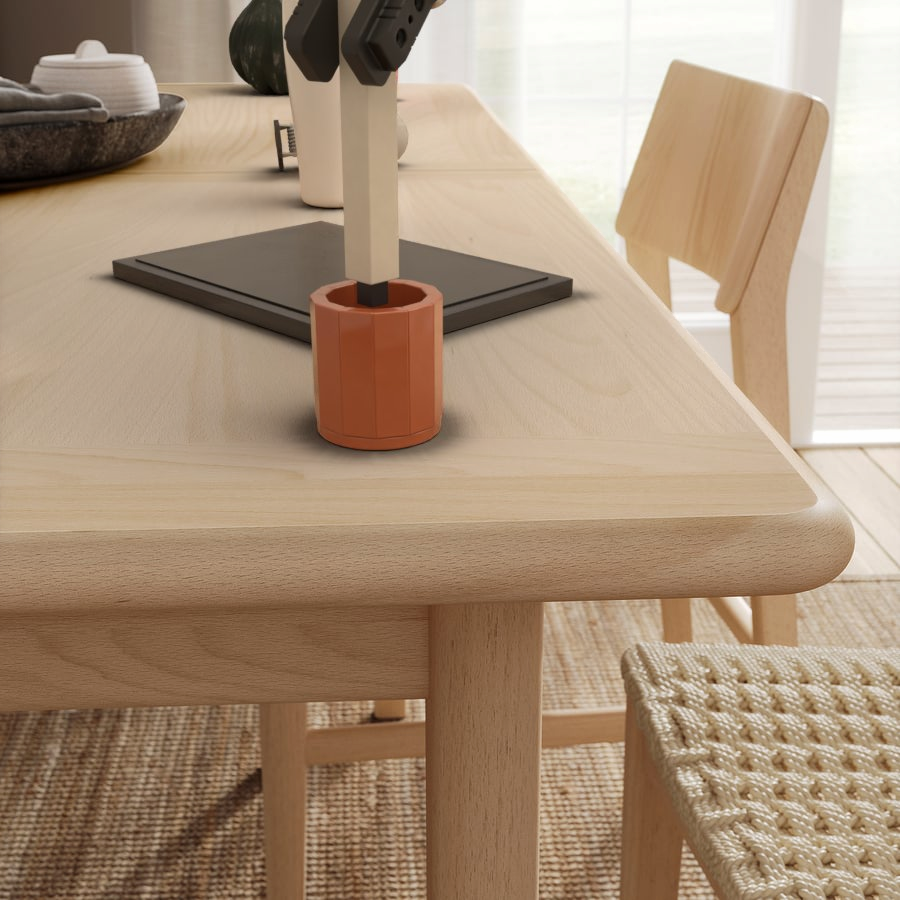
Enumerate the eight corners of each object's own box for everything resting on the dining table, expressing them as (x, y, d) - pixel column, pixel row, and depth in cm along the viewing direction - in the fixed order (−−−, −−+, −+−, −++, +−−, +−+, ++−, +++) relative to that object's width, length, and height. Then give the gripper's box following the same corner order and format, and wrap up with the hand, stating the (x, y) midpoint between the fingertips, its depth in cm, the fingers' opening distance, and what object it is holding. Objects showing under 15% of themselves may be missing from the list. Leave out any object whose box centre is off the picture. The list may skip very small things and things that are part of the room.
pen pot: (292, 426, 47) (284, 294, 45) (383, 396, 51) (380, 271, 48) (374, 461, 44) (371, 320, 42) (466, 426, 47) (467, 294, 45)
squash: (326, 44, 172) (259, -38, 163) (371, 56, 161) (301, -32, 151) (261, 114, 172) (190, 36, 162) (302, 131, 160) (228, 47, 151)
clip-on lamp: (297, 181, 115) (265, 170, 97) (289, 115, 114) (256, 91, 96) (416, 170, 115) (406, 156, 97) (409, 103, 114) (398, 77, 96)
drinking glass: (273, 202, 90) (262, -6, 85) (343, 191, 95) (336, -8, 89) (327, 215, 86) (318, -4, 80) (397, 203, 90) (394, -6, 84)
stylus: (345, 303, 45) (334, -62, 40) (374, 296, 46) (366, -62, 41) (371, 311, 44) (363, -62, 39) (400, 304, 45) (396, -62, 40)
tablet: (113, 276, 69) (111, 258, 69) (321, 234, 80) (321, 218, 79) (358, 359, 55) (357, 337, 55) (573, 295, 66) (573, 276, 65)
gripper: (326, -363, 45) (123, -17, 40) (659, -414, 39) (465, -9, 34) (403, -193, 52) (236, 124, 47) (701, -212, 45) (542, 154, 40)
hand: (333, 66), depth 40 cm, fingers closed on stylus, 2 cm apart
